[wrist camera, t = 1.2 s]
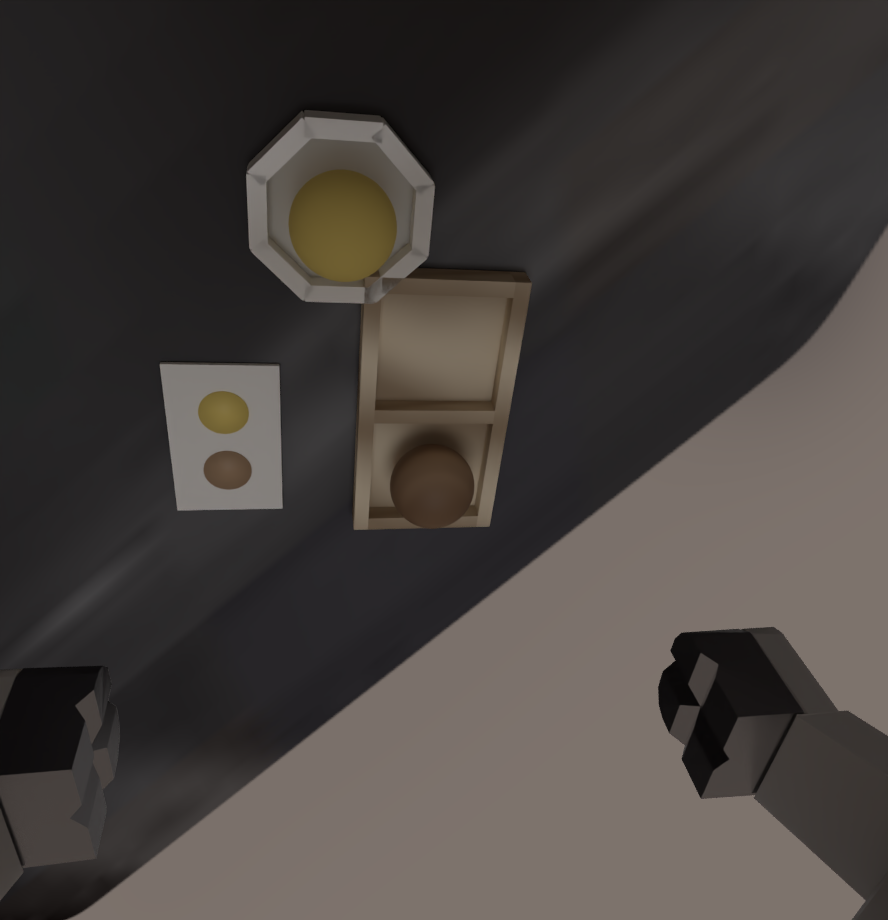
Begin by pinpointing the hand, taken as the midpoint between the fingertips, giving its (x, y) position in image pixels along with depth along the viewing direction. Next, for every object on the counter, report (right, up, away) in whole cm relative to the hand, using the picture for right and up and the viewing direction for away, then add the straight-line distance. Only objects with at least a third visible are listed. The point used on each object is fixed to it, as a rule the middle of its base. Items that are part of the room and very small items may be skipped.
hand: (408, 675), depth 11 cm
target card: (-10, +4, +25) cm, 27 cm away
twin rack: (0, +6, +25) cm, 26 cm away
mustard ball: (-4, +13, +19) cm, 23 cm away
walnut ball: (0, +3, +27) cm, 27 cm away
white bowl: (-4, +13, +19) cm, 24 cm away
